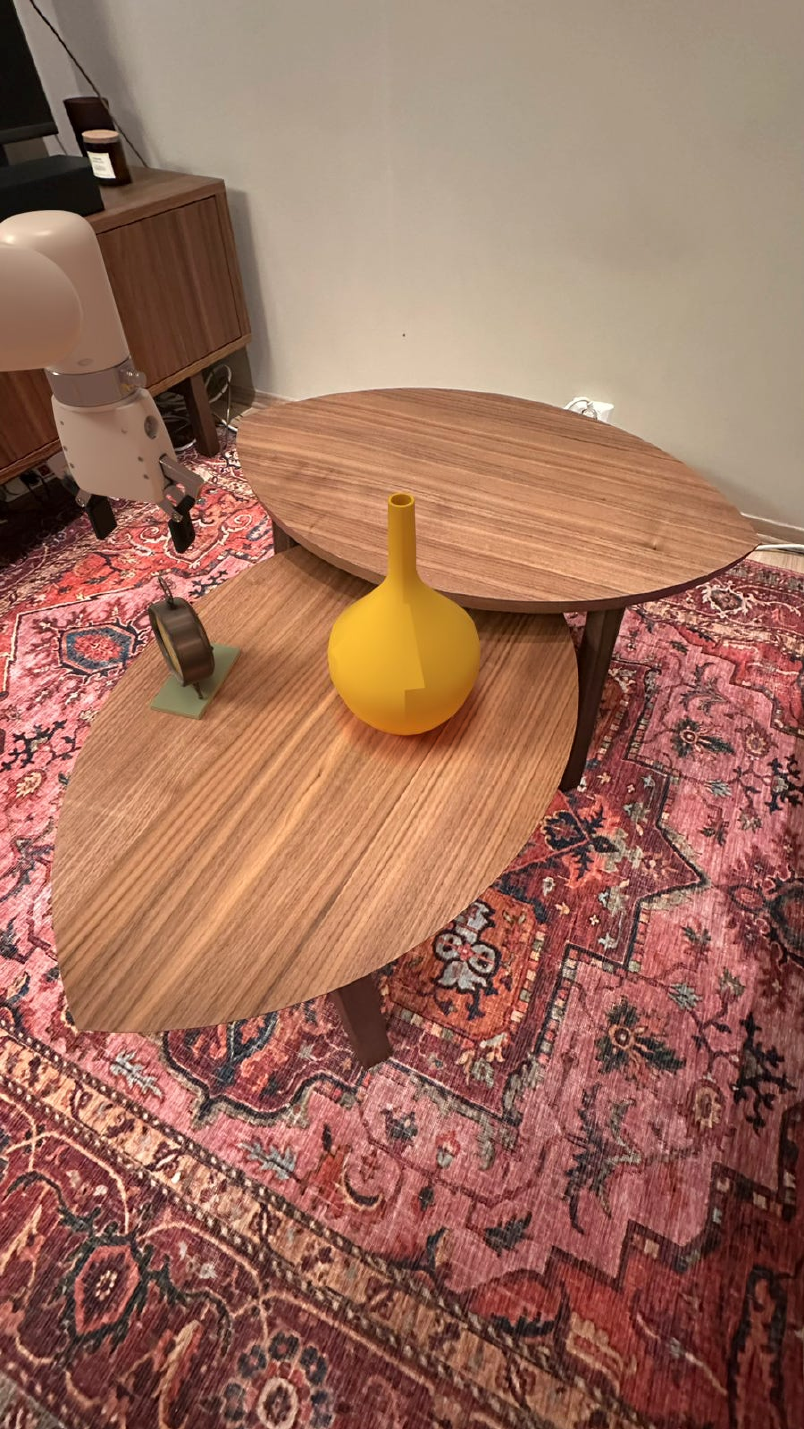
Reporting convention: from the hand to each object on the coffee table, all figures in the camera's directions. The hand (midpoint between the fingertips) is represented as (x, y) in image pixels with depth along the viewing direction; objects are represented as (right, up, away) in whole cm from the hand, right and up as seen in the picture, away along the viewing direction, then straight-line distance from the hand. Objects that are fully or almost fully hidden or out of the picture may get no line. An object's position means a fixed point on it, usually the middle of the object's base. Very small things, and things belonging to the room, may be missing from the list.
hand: (146, 540), depth 75 cm
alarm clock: (0, -14, +17) cm, 22 cm away
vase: (+28, -18, +14) cm, 36 cm away
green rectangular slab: (+1, -15, +17) cm, 23 cm away
